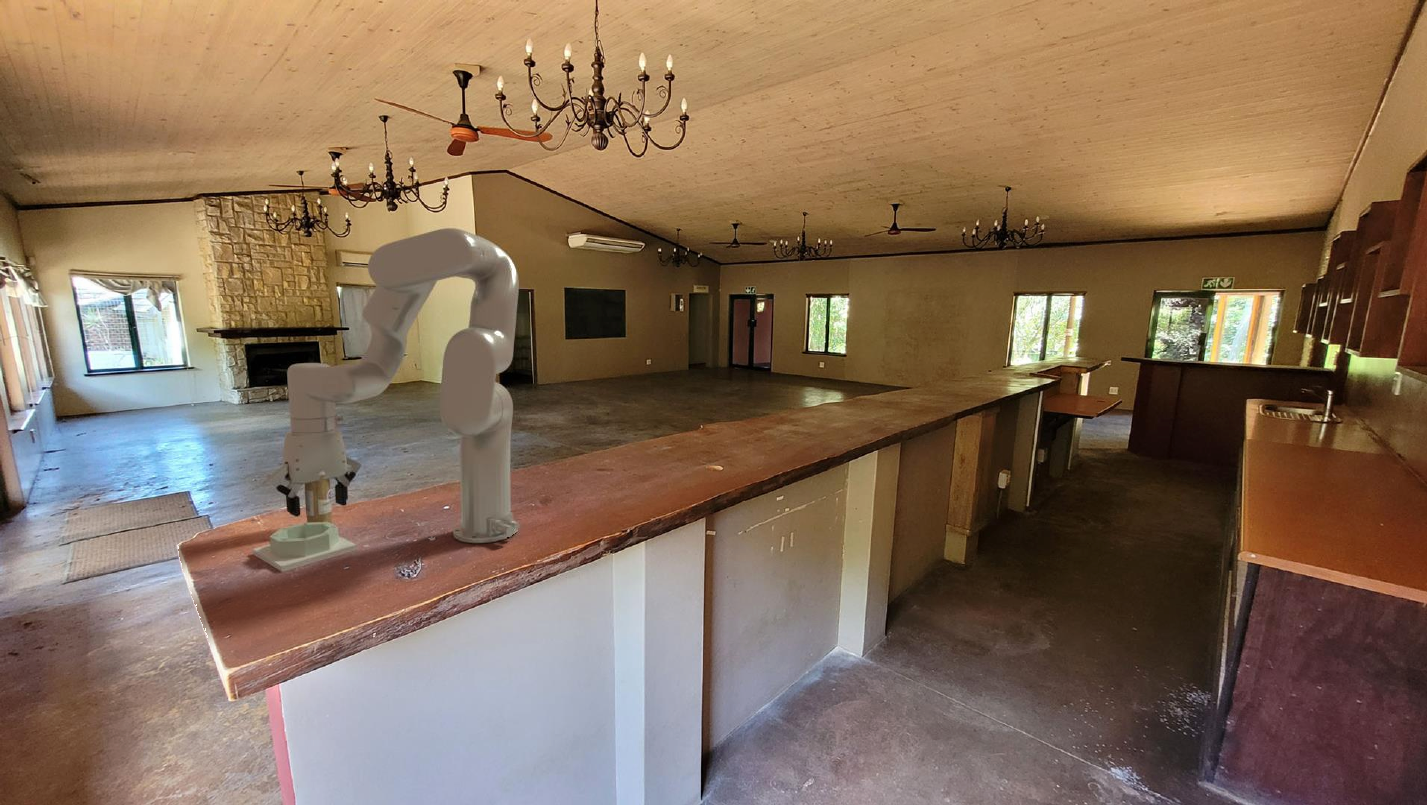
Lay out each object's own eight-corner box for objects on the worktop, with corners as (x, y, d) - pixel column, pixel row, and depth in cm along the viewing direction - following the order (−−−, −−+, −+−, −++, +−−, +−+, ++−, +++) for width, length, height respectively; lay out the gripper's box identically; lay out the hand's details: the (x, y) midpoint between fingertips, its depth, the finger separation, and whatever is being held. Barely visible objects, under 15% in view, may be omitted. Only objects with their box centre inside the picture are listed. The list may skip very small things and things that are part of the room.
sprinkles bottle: (333, 529, 116) (329, 465, 114) (305, 533, 113) (301, 468, 111) (333, 522, 119) (329, 460, 117) (306, 525, 117) (302, 462, 115)
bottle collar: (357, 549, 106) (356, 529, 106) (282, 571, 96) (280, 549, 96) (326, 534, 113) (325, 515, 112) (253, 554, 103) (251, 533, 102)
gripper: (351, 417, 122) (354, 495, 125) (253, 428, 108) (259, 516, 110) (369, 422, 119) (372, 502, 121) (270, 434, 104) (276, 525, 106)
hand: (318, 508), depth 116 cm, fingers open, 7 cm apart
